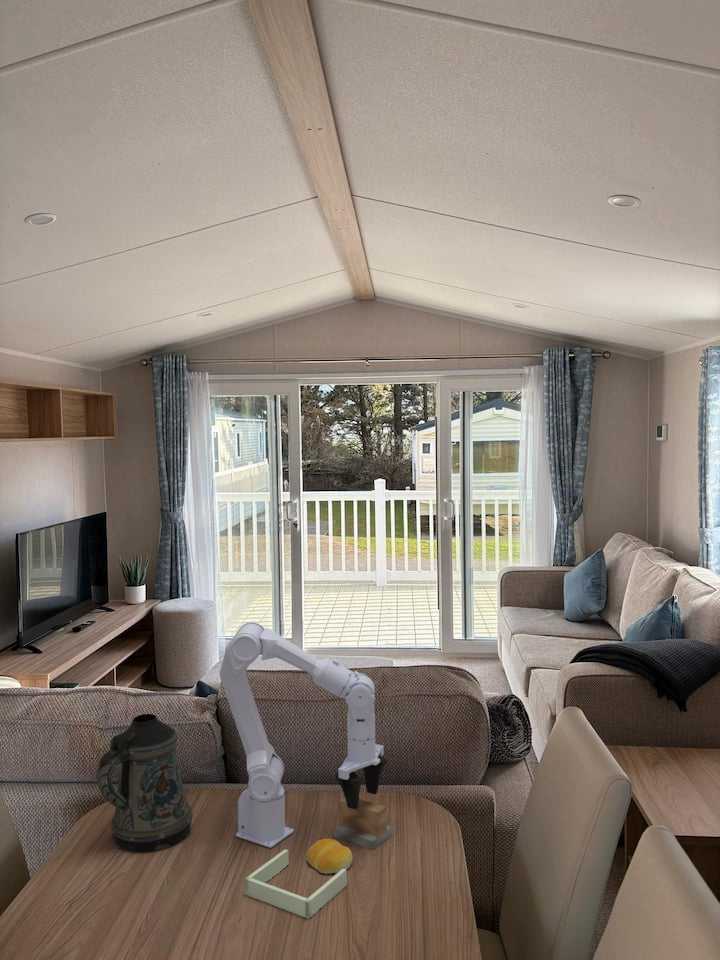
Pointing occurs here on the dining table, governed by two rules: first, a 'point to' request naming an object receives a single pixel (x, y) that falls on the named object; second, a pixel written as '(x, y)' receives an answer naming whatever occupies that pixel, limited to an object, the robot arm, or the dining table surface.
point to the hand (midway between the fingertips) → (362, 800)
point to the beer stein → (145, 787)
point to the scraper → (362, 824)
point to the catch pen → (286, 899)
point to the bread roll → (329, 856)
